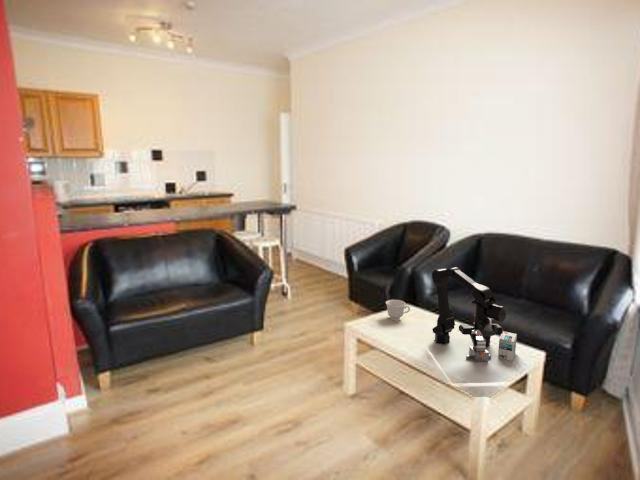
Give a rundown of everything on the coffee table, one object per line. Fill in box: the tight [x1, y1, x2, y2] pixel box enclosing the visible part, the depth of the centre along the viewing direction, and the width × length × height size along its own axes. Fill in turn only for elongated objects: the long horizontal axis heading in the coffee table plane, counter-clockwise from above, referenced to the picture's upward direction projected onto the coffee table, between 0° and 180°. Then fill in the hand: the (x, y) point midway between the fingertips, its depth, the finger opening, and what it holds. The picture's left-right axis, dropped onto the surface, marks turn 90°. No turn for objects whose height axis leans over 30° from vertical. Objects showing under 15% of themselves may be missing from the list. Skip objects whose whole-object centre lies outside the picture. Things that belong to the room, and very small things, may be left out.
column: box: [472, 336, 487, 352], centre depth 186 cm, size 4×4×10 cm
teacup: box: [385, 299, 411, 321], centre depth 237 cm, size 12×15×10 cm
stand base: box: [465, 345, 492, 363], centre depth 187 cm, size 12×12×6 cm
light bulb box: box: [497, 330, 518, 362], centre depth 190 cm, size 11×7×11 cm, turn 148°
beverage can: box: [476, 317, 493, 348], centre depth 201 cm, size 6×7×15 cm
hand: (479, 346), depth 186 cm, fingers closed on column, 4 cm apart
